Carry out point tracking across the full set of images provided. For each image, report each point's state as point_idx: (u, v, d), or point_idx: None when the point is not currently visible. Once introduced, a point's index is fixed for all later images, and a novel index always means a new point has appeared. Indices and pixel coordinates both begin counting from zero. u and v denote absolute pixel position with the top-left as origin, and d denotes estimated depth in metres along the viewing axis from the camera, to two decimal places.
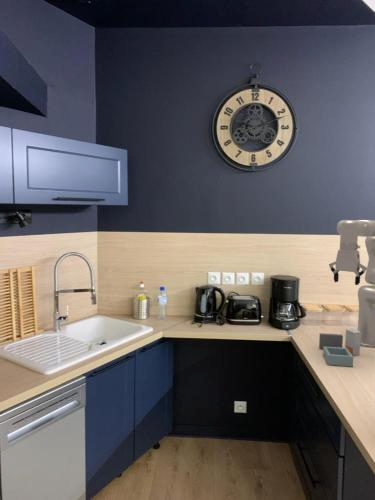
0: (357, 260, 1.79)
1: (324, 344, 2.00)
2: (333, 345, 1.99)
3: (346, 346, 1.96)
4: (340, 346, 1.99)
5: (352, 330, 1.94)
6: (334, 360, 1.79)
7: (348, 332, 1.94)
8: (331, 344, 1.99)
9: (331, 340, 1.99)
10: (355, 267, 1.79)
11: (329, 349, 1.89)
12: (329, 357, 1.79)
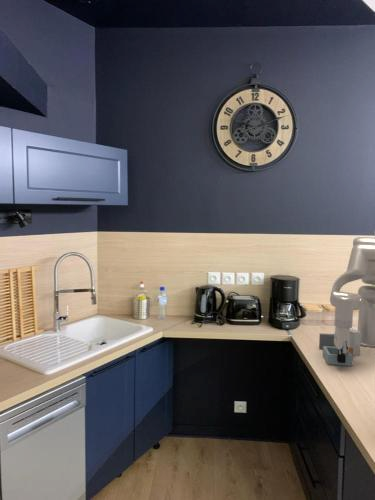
0: None
1: (324, 344, 2.00)
2: (333, 345, 1.99)
3: None
4: None
5: (352, 330, 1.94)
6: (334, 359, 1.80)
7: None
8: (331, 344, 1.99)
9: (331, 340, 1.99)
10: None
11: (329, 349, 1.90)
12: (329, 357, 1.80)
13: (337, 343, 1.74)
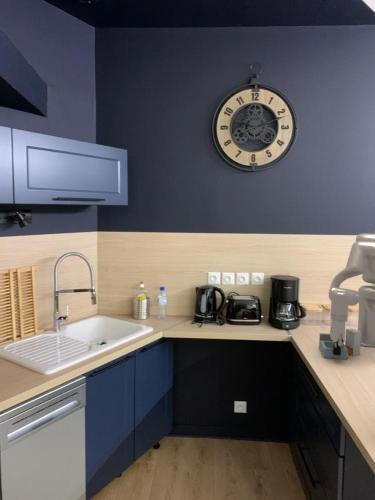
0: None
1: None
2: None
3: (346, 346, 1.96)
4: None
5: (352, 330, 1.94)
6: (330, 353, 1.88)
7: (348, 332, 1.94)
8: None
9: (331, 340, 1.99)
10: None
11: (325, 343, 1.98)
12: (325, 350, 1.88)
13: (333, 336, 1.82)
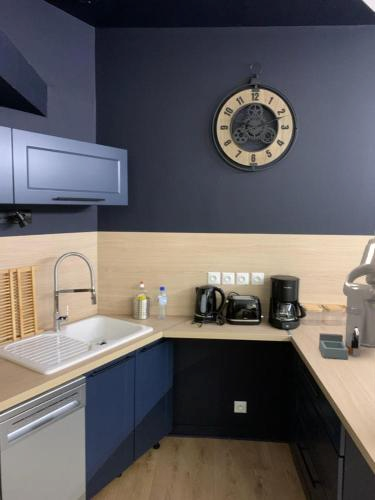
0: None
1: None
2: None
3: (346, 346, 1.96)
4: None
5: None
6: (330, 353, 1.88)
7: None
8: None
9: (331, 340, 1.99)
10: None
11: (325, 343, 1.98)
12: (325, 350, 1.88)
13: (349, 329, 1.92)
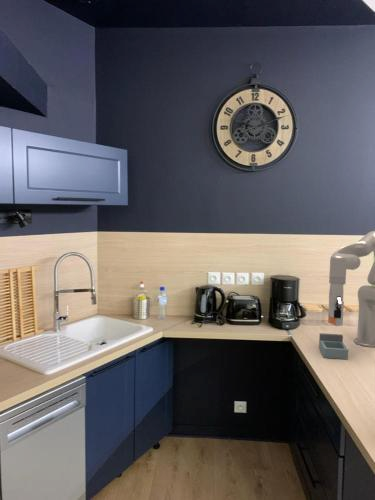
0: None
1: None
2: None
3: (329, 317, 1.93)
4: None
5: None
6: (330, 353, 1.88)
7: None
8: None
9: (331, 340, 1.99)
10: None
11: (325, 343, 1.98)
12: (325, 350, 1.88)
13: (331, 298, 1.89)
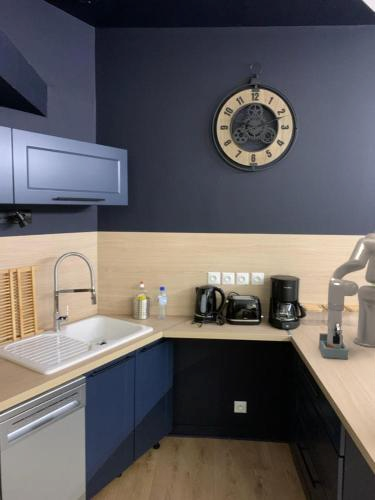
0: None
1: None
2: None
3: (328, 344, 1.94)
4: None
5: None
6: (330, 353, 1.88)
7: (329, 330, 1.93)
8: None
9: None
10: None
11: (325, 343, 1.98)
12: (325, 350, 1.88)
13: (330, 325, 1.90)
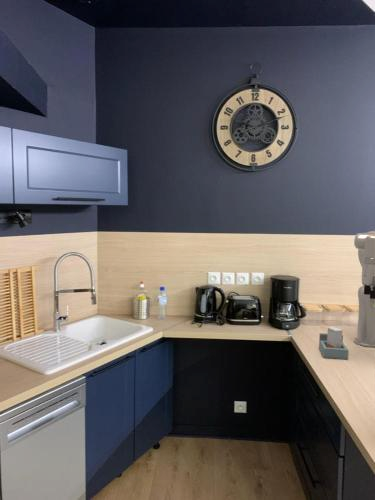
0: None
1: None
2: None
3: (328, 344, 1.94)
4: None
5: (333, 328, 1.92)
6: (330, 353, 1.88)
7: (329, 330, 1.93)
8: None
9: None
10: None
11: (325, 343, 1.98)
12: (325, 350, 1.88)
13: (367, 280, 1.84)
